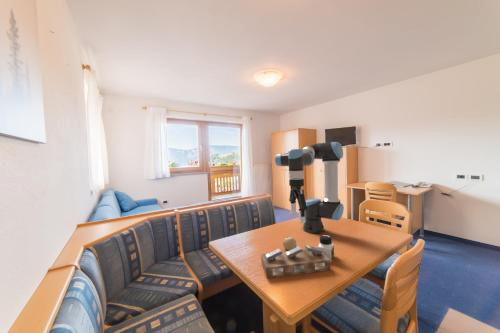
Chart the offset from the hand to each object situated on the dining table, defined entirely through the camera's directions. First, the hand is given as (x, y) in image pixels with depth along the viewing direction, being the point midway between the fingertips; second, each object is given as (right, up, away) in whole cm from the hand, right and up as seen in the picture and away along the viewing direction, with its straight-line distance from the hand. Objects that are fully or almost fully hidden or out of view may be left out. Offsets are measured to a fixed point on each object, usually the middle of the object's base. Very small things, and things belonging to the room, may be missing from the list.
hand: (297, 218), depth 104 cm
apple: (-1, -23, +17) cm, 28 cm away
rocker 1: (-13, -17, -4) cm, 22 cm away
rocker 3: (+8, -16, -2) cm, 18 cm away
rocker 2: (-3, -16, -3) cm, 17 cm away
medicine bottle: (+17, -23, +5) cm, 29 cm away
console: (-2, -24, -3) cm, 24 cm away
